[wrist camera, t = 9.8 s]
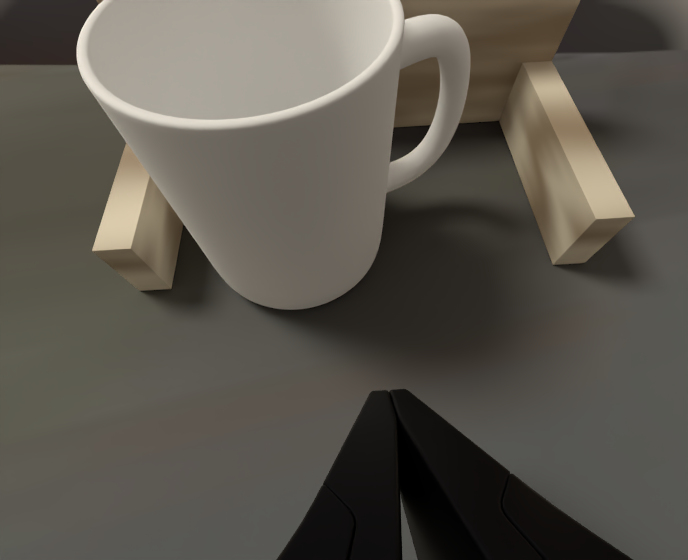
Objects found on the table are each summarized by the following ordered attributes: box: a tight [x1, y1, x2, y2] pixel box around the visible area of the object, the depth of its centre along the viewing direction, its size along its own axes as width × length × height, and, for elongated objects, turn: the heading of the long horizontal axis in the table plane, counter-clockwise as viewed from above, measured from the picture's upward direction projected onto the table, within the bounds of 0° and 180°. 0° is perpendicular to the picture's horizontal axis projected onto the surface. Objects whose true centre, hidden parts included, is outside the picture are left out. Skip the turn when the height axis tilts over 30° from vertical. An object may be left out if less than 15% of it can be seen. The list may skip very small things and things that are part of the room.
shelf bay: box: [92, 0, 635, 291], centre depth 16 cm, size 12×21×8 cm, turn 93°
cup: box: [77, 0, 470, 310], centre depth 14 cm, size 8×12×10 cm
